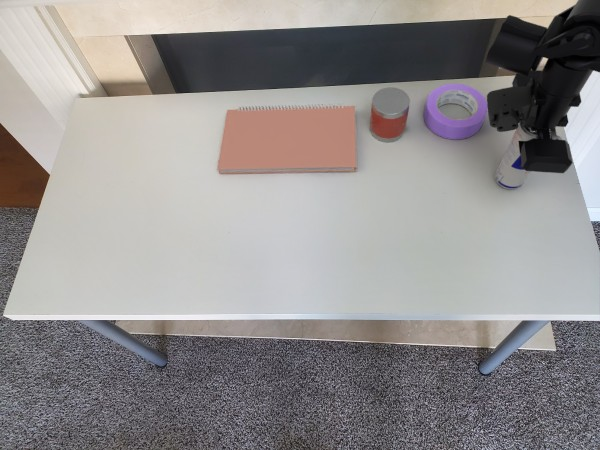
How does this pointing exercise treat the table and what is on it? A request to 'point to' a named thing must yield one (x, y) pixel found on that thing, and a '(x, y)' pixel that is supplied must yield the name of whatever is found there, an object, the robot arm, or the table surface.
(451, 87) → the tape roll
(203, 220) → the table surface
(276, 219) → the table surface
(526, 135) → the beverage can
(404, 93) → the food tin
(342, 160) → the notebook
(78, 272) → the table surface
